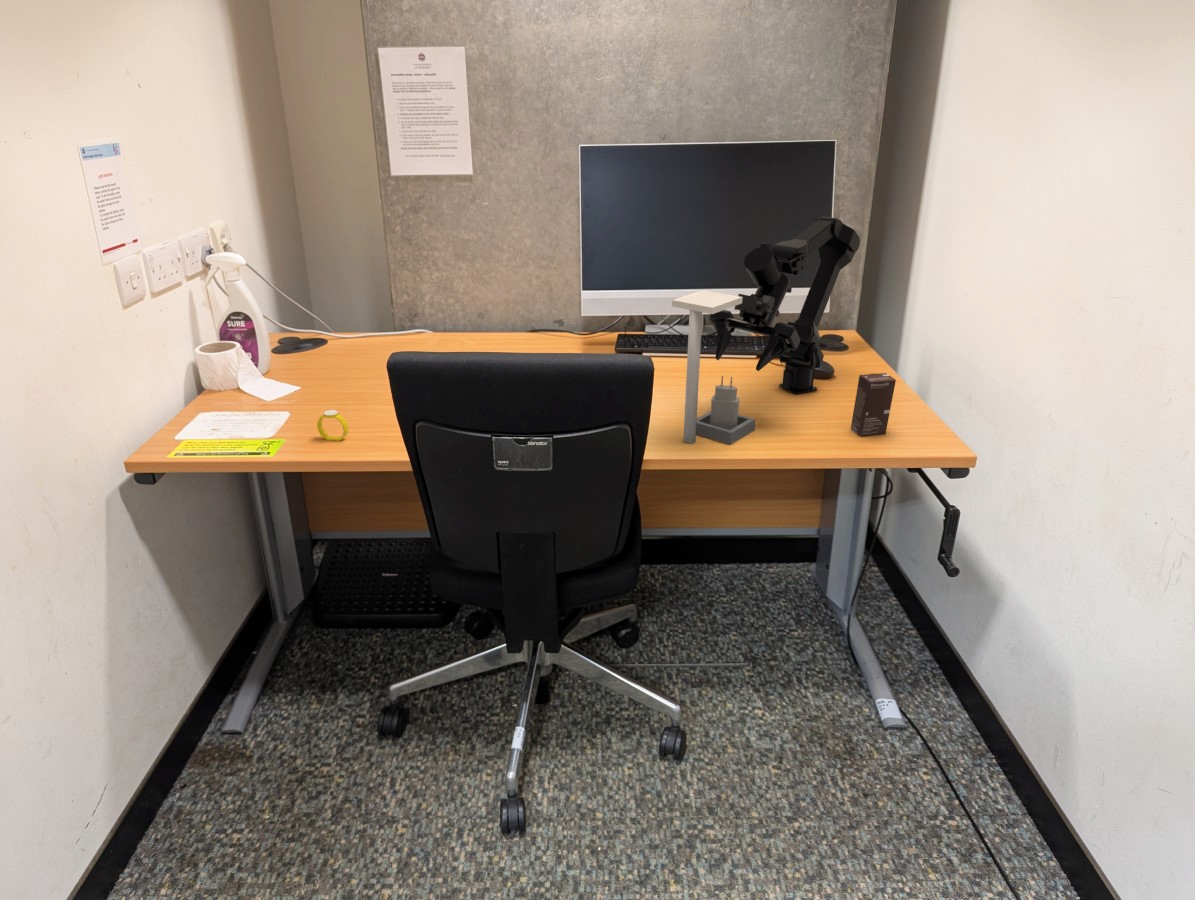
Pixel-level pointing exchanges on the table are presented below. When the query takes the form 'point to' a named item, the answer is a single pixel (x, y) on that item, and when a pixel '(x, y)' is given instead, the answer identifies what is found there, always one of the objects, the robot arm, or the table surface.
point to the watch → (332, 415)
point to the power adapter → (724, 406)
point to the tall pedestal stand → (692, 424)
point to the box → (872, 404)
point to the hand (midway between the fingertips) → (736, 364)
